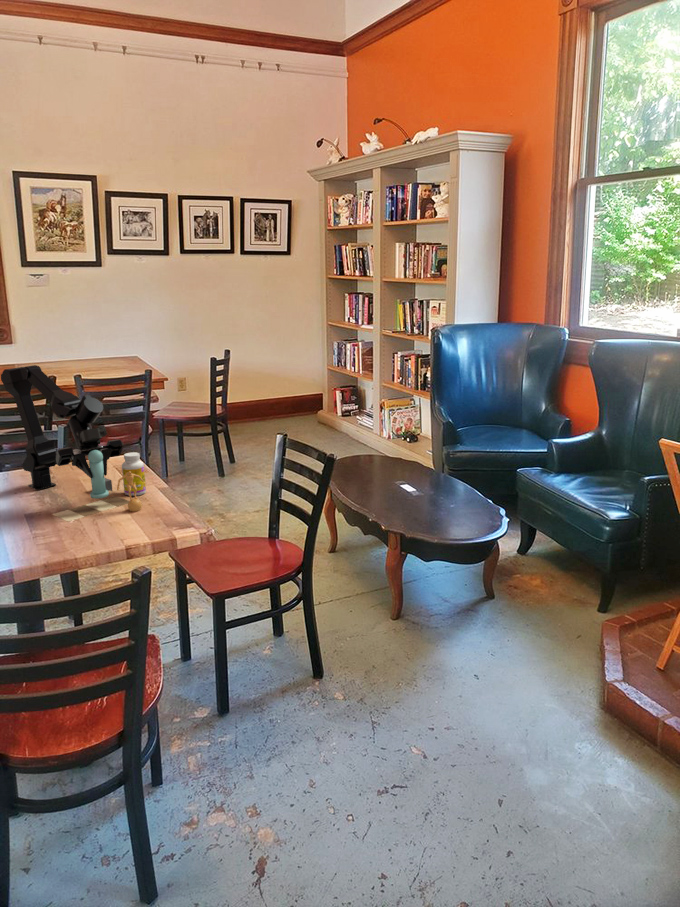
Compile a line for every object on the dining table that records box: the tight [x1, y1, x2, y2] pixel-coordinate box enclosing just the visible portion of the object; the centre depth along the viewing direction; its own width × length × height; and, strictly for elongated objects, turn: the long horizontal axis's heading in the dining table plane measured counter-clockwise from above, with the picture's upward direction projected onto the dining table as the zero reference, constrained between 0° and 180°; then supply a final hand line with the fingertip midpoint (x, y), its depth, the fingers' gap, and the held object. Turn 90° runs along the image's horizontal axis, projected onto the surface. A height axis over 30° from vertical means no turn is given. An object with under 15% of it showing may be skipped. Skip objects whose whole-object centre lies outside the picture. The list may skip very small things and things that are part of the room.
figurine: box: [116, 471, 146, 513], centre depth 199 cm, size 8×6×12 cm
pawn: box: [87, 450, 110, 500], centre depth 201 cm, size 5×5×14 cm
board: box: [51, 495, 130, 523], centre depth 202 cm, size 10×21×1 cm, turn 139°
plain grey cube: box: [105, 477, 113, 492], centre depth 217 cm, size 4×4×4 cm
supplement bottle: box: [121, 451, 147, 497], centre depth 215 cm, size 7×7×13 cm
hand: (98, 476), depth 200 cm, fingers closed on pawn, 4 cm apart
